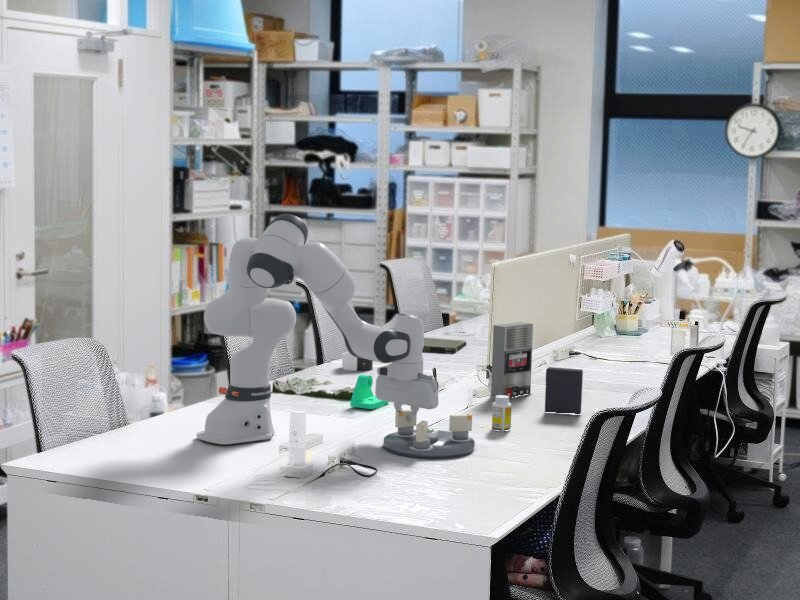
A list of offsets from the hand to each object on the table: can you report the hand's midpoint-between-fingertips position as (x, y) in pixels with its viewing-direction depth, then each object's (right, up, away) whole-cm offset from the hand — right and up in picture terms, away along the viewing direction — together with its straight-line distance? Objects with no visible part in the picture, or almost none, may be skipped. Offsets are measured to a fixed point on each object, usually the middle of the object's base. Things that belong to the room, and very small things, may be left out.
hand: (406, 420), depth 329 cm
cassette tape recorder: (+35, 0, +62) cm, 72 cm away
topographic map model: (-24, +3, +74) cm, 78 cm away
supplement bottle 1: (-15, +7, +103) cm, 105 cm away
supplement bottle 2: (+28, -5, +16) cm, 33 cm away
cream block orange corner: (0, -4, 0) cm, 4 cm away
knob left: (+4, -6, -15) cm, 16 cm away
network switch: (+13, +11, +150) cm, 151 cm away
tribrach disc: (+6, -7, -6) cm, 11 cm away
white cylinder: (-18, +8, +105) cm, 107 cm away
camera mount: (-11, -1, +44) cm, 46 cm away
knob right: (+15, -5, -3) cm, 16 cm away
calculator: (+49, -3, +38) cm, 62 cm away
